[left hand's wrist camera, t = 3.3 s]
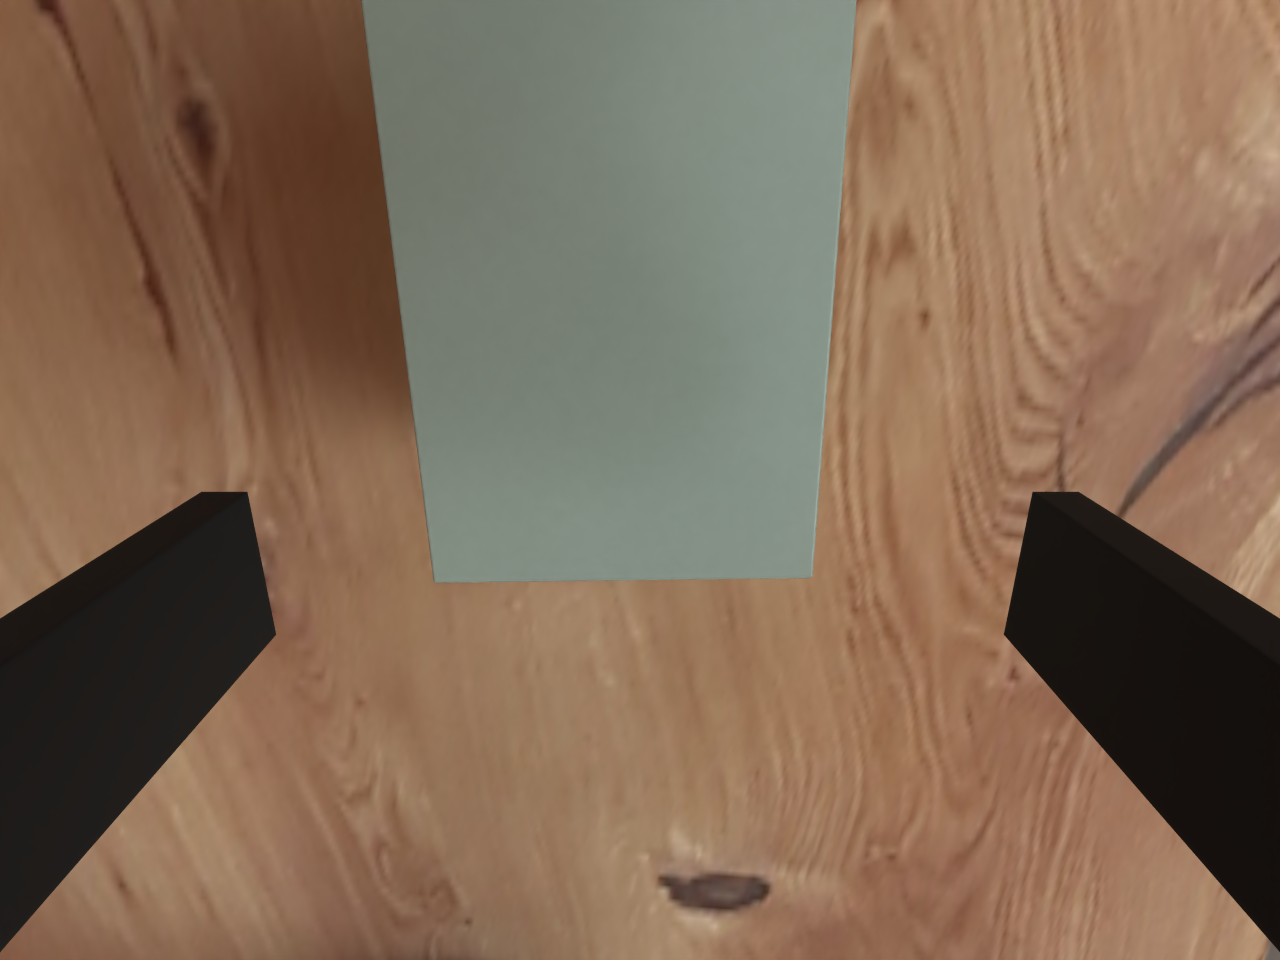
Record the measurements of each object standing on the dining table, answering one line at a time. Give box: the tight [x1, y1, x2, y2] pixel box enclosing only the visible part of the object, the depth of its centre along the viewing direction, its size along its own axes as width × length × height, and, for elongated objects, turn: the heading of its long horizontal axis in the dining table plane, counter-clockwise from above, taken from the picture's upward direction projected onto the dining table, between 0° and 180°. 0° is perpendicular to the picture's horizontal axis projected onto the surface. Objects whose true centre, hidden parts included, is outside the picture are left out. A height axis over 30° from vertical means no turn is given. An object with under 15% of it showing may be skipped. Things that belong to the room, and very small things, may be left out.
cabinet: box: [361, 0, 857, 583], centre depth 21 cm, size 17×10×11 cm, turn 1°
